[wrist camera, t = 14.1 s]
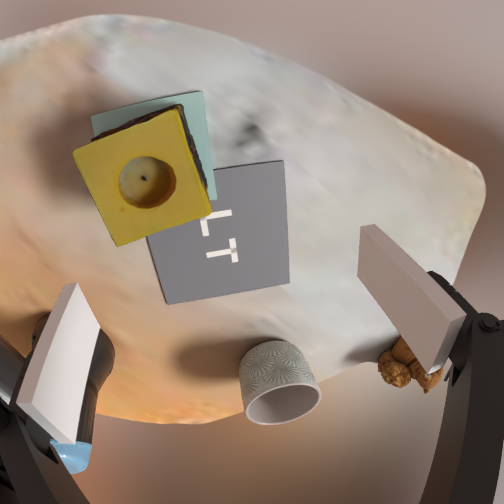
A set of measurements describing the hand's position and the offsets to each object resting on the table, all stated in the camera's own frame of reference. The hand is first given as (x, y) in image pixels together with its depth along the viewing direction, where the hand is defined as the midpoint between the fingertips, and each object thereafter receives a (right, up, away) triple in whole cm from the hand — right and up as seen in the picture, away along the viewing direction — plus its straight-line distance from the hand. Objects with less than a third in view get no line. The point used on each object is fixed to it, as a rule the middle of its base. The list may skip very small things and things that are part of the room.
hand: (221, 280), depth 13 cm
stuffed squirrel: (+33, -20, +47) cm, 61 cm away
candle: (-10, +12, +19) cm, 25 cm away
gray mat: (-3, +3, +26) cm, 27 cm away
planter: (+4, -17, +40) cm, 44 cm away
